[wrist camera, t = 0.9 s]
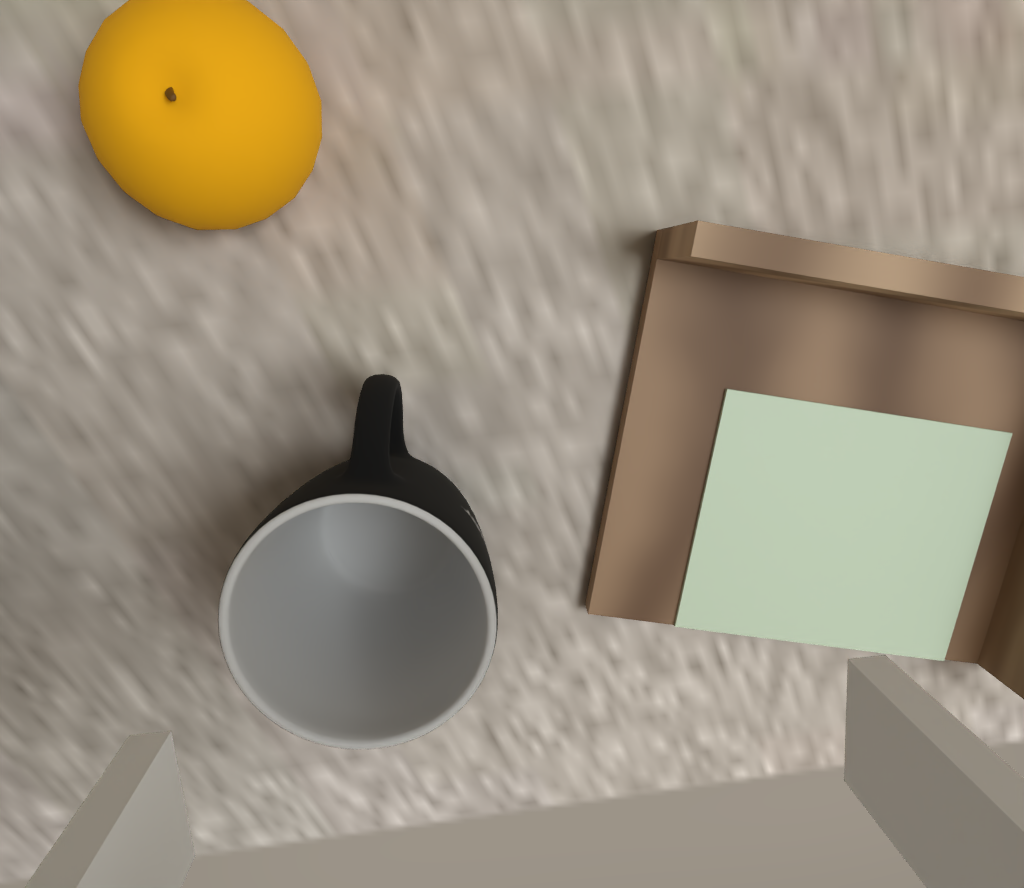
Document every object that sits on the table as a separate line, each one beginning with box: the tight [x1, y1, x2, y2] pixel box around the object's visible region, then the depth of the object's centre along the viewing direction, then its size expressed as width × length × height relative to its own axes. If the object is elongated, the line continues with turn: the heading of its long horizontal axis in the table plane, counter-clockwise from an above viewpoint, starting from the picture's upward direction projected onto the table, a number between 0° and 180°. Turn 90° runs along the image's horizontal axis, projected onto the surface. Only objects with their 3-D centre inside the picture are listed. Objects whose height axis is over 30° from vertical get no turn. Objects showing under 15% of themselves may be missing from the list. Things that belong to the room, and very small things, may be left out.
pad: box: [674, 389, 1012, 661], centre depth 34 cm, size 13×11×1 cm
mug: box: [218, 374, 498, 749], centre depth 29 cm, size 12×9×10 cm
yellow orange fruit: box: [78, 0, 322, 230], centre depth 27 cm, size 8×8×8 cm
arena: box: [585, 221, 1024, 699], centre depth 32 cm, size 20×17×6 cm
